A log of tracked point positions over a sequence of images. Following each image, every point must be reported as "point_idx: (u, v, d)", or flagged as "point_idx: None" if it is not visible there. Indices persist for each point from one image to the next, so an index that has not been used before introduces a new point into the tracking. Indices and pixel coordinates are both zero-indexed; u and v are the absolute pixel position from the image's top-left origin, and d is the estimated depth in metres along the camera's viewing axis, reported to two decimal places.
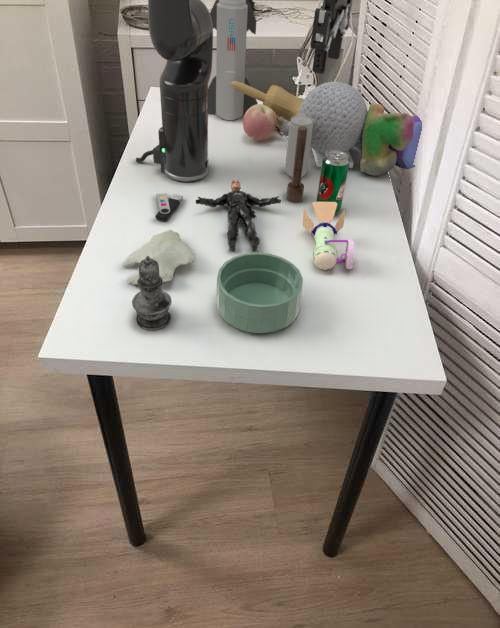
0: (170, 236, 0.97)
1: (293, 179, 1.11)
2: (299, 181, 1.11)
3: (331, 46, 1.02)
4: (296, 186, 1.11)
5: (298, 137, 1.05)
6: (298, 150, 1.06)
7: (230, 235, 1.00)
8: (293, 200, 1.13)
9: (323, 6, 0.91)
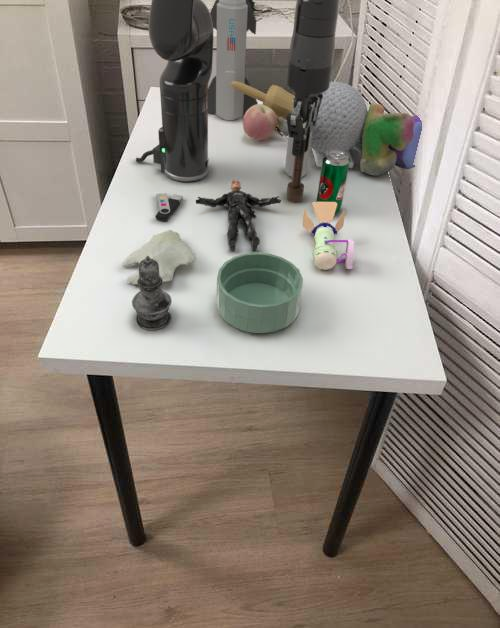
0: (170, 236, 0.97)
1: (293, 179, 1.11)
2: (299, 181, 1.11)
3: None
4: (296, 186, 1.11)
5: None
6: None
7: (230, 235, 1.00)
8: (293, 200, 1.13)
9: (294, 104, 0.97)
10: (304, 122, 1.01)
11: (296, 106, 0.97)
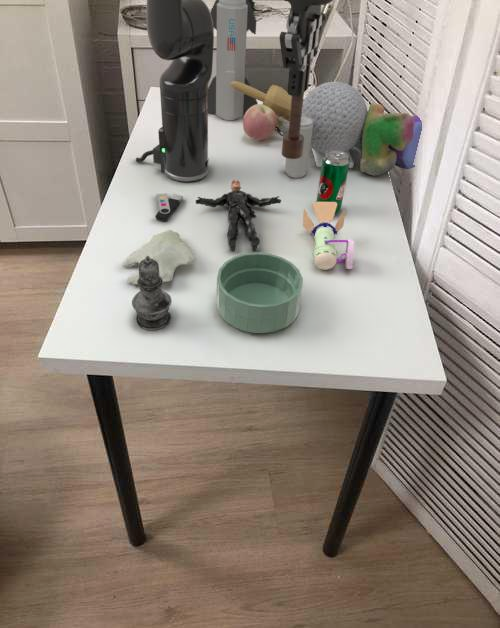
0: (170, 236, 0.97)
1: (290, 128, 0.88)
2: (298, 130, 0.88)
3: None
4: (294, 137, 0.88)
5: None
6: None
7: (230, 235, 1.00)
8: (290, 156, 0.89)
9: (289, 20, 0.74)
10: (303, 48, 0.78)
11: (292, 23, 0.74)
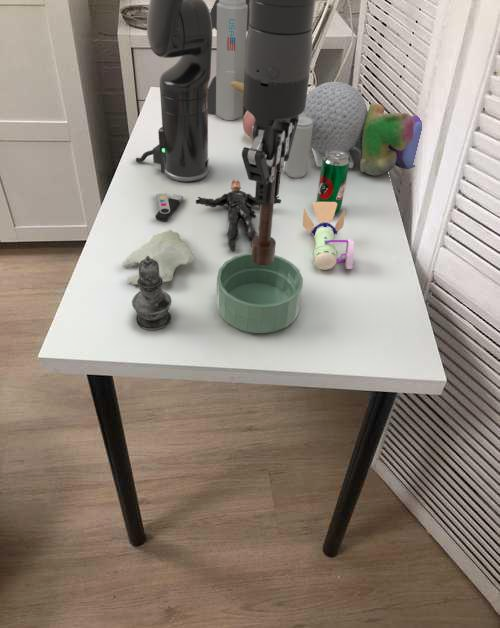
0: (170, 236, 0.97)
1: (259, 234, 0.79)
2: (268, 237, 0.79)
3: None
4: (264, 243, 0.80)
5: None
6: None
7: (230, 235, 1.00)
8: (260, 262, 0.81)
9: (253, 134, 0.66)
10: (270, 158, 0.70)
11: (256, 137, 0.66)
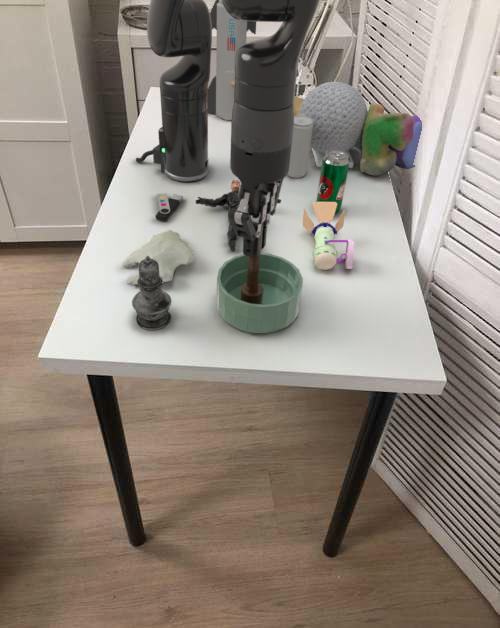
0: (170, 236, 0.97)
1: (248, 282, 0.83)
2: (256, 284, 0.83)
3: None
4: (252, 290, 0.84)
5: None
6: None
7: (230, 235, 1.00)
8: None
9: (240, 196, 0.70)
10: (256, 216, 0.74)
11: (242, 199, 0.70)
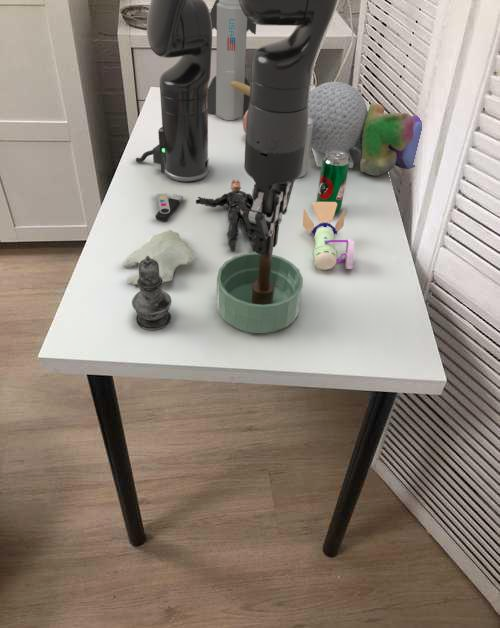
0: (170, 236, 0.97)
1: (259, 280, 0.85)
2: (267, 282, 0.85)
3: None
4: (263, 288, 0.85)
5: None
6: None
7: (230, 235, 1.00)
8: None
9: (254, 196, 0.71)
10: (269, 215, 0.75)
11: (256, 199, 0.71)
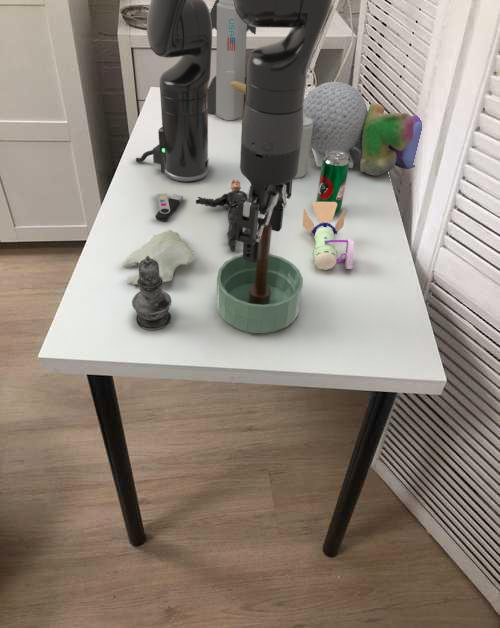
0: (170, 236, 0.97)
1: (256, 284, 0.85)
2: (264, 286, 0.85)
3: (270, 217, 0.82)
4: (260, 292, 0.86)
5: None
6: (260, 251, 0.81)
7: (230, 235, 1.00)
8: None
9: (250, 193, 0.71)
10: (261, 218, 0.74)
11: (253, 195, 0.71)
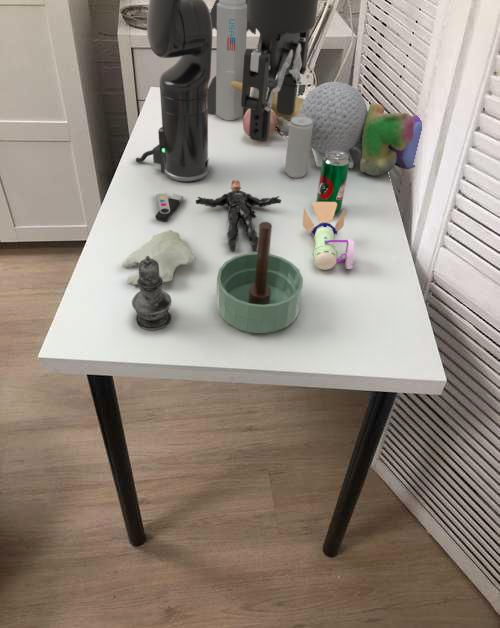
0: (170, 236, 0.97)
1: (256, 284, 0.85)
2: (264, 286, 0.85)
3: (281, 97, 0.70)
4: (260, 292, 0.86)
5: (260, 236, 0.79)
6: (260, 251, 0.81)
7: (230, 235, 1.00)
8: None
9: (259, 45, 0.59)
10: None
11: (262, 47, 0.59)
